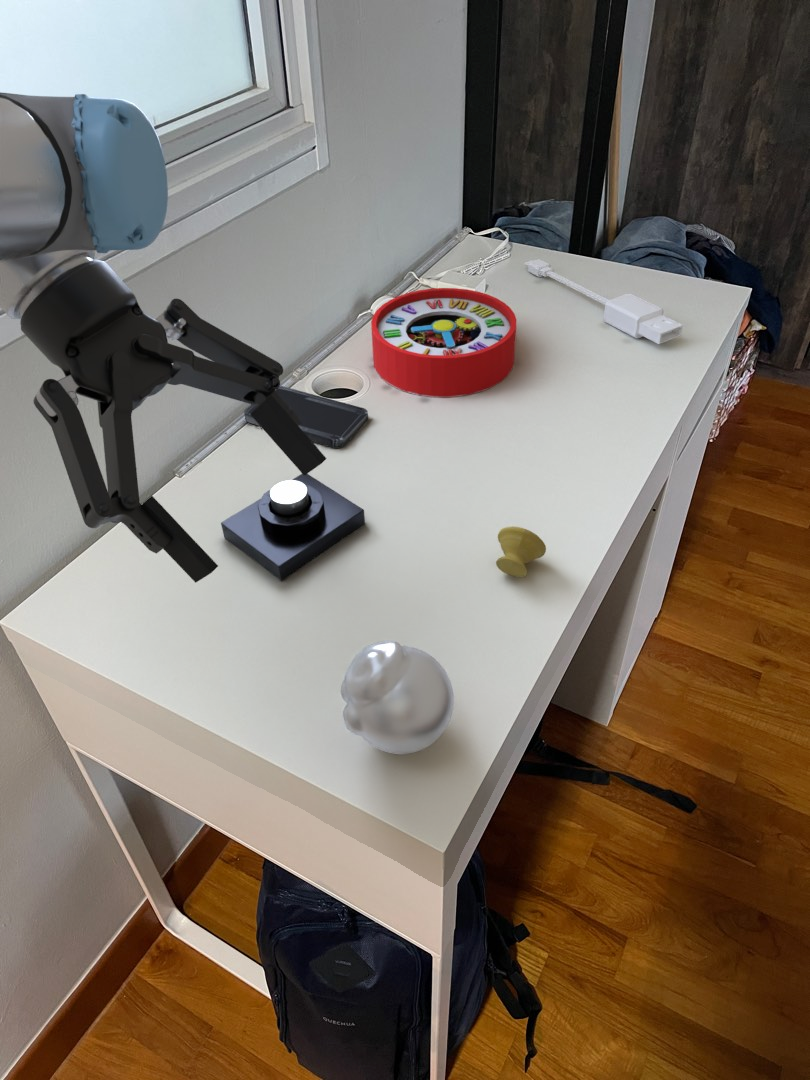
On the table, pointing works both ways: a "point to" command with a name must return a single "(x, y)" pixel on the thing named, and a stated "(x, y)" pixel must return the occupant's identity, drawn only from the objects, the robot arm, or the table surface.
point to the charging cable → (622, 309)
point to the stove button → (289, 499)
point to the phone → (321, 417)
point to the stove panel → (293, 529)
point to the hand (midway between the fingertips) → (265, 517)
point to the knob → (518, 550)
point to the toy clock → (443, 342)
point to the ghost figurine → (397, 697)
